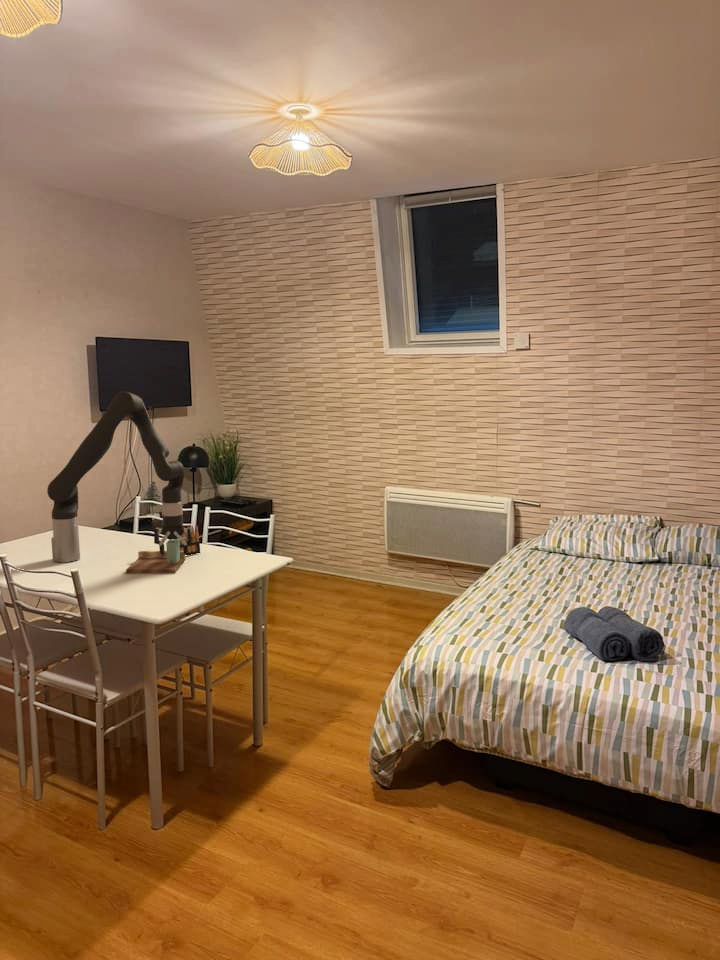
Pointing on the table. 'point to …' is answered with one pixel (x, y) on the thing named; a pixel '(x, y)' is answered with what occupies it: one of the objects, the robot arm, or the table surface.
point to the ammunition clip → (195, 545)
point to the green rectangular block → (173, 551)
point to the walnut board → (154, 563)
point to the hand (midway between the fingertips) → (174, 554)
